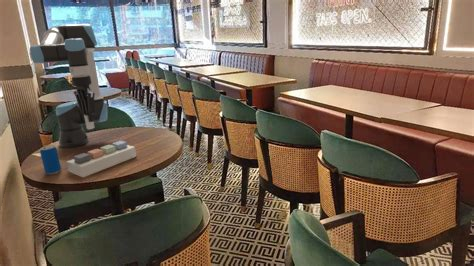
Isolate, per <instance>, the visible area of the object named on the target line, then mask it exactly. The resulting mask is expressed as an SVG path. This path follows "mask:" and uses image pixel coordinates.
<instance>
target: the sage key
mask: <svg viewBox="0 0 474 266" xmlns="http://www.w3.org/2000/svg"><path fill="white" fill-rule="evenodd" d="M99 148H100V150H103V154H106V155H107V154H110V153H113V152H115V151H116V149H115V146H113V145H112V144H107V145H104V146H100V147H99Z"/></svg>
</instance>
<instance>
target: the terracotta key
mask: <svg viewBox="0 0 474 266" xmlns="http://www.w3.org/2000/svg"><path fill="white" fill-rule="evenodd" d="M87 154H88V155H90V158H92V159H96V158H99V157H102V156H104V155H103V150H101V149H99V148H94V149H91V150H89V151H87Z"/></svg>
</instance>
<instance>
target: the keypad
mask: <svg viewBox="0 0 474 266" xmlns="http://www.w3.org/2000/svg"><path fill="white" fill-rule="evenodd" d="M136 151H137V150H136V147H135V146H133V145H129V144H127V148H124V149H121V150H116V151H115V152H113V153H110V154H107V155H106V154H103V155H104V156H102V157H99V158H96V159H92V158H90V159H91V160H90V161H88V162H85V163H82V164H78V163H76V162H75V160H74V158H72V159H69V160H67V161H66V164H67V169H68V172H69V173H71V174H73V175H76V176H79V177H81V178H85V177H88V176H90V175H93V174H96V173H98V172H100V171H103V170H106V169H108V168H111V167H113V166H116V165H118V164H121V163H123V162H126V161H129V160H131V159H134V158H135V157H137V152H136Z"/></svg>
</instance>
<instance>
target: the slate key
mask: <svg viewBox="0 0 474 266" xmlns="http://www.w3.org/2000/svg"><path fill="white" fill-rule="evenodd" d="M111 145H113V146H115V149H116V150H121V149H124V148H127V145H128V144H127V141H124V140H118V141H116V142H113V143H112V144H111Z"/></svg>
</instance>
